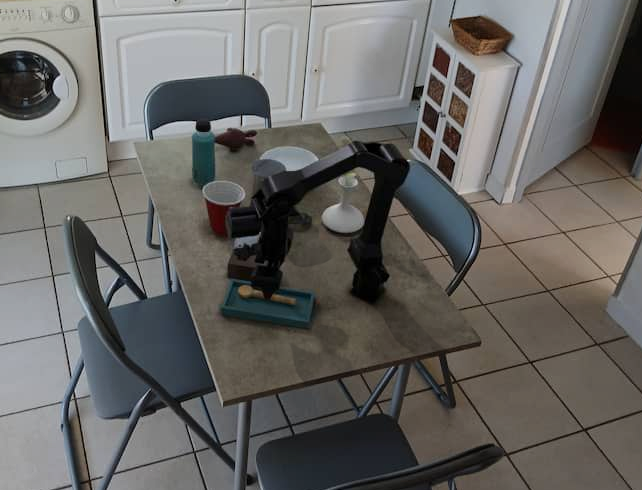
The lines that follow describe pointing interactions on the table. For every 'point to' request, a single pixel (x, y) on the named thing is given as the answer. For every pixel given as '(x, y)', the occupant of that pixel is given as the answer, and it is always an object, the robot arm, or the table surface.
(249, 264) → the slotted brown holder
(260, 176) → the milk frother
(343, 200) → the flower in vase
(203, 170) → the beverage bottle
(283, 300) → the tan round-headed peg
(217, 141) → the brown stuffed toy
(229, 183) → the plastic cup
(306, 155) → the cereal bowl
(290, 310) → the tray
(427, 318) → the table surface
